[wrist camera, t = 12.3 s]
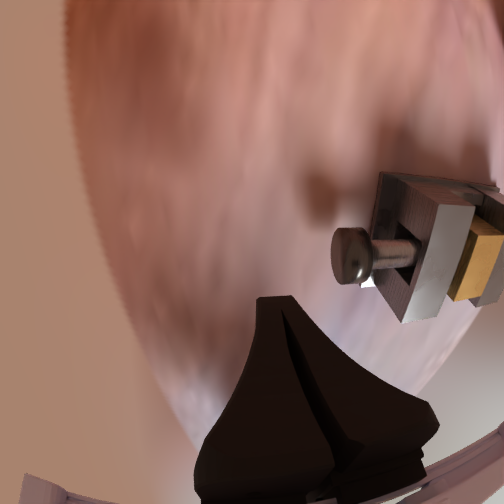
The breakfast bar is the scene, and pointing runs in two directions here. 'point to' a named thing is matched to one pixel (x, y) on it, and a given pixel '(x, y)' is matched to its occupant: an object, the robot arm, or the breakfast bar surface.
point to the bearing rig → (431, 239)
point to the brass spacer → (476, 260)
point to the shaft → (369, 254)
